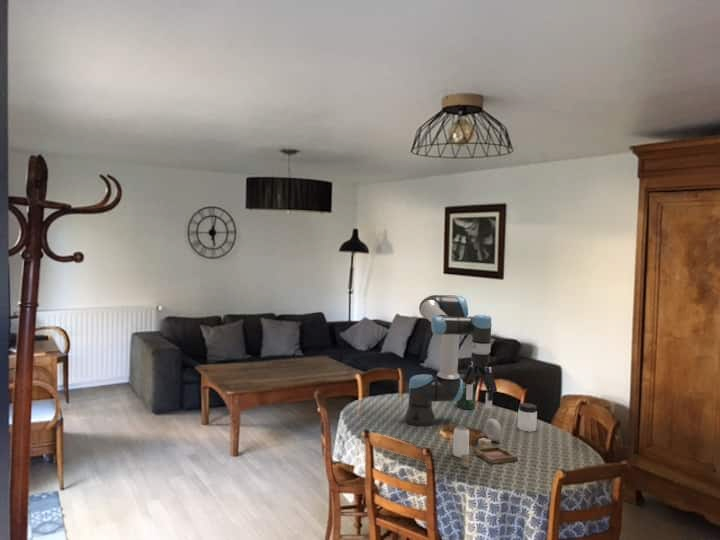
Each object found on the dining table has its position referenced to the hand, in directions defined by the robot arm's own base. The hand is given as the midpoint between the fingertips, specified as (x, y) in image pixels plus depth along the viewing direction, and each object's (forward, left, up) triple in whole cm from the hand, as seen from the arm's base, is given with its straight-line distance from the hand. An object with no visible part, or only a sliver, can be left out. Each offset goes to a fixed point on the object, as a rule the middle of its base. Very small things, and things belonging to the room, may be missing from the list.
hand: (478, 403), depth 233 cm
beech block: (-11, +12, -24) cm, 29 cm away
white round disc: (-19, +22, -24) cm, 38 cm away
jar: (-28, +49, -24) cm, 61 cm away
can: (-7, -3, -24) cm, 25 cm away
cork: (+4, -8, -24) cm, 25 cm away
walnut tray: (-1, +10, -24) cm, 26 cm away
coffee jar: (-70, +41, -24) cm, 85 cm away
